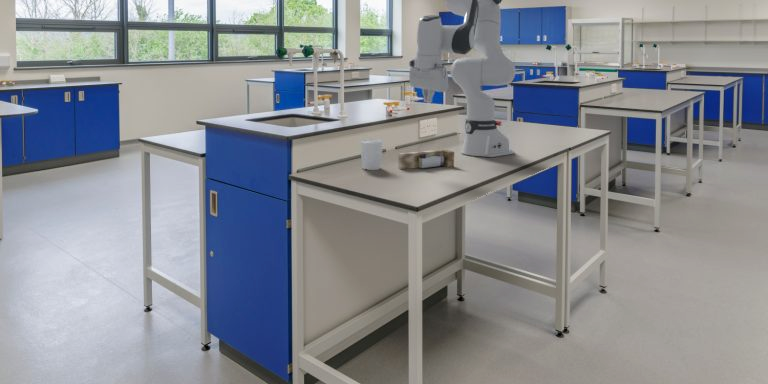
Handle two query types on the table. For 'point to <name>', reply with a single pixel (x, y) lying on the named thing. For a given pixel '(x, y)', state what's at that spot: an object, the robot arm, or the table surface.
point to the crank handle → (431, 161)
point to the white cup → (371, 154)
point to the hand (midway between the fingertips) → (428, 102)
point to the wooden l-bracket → (413, 157)
